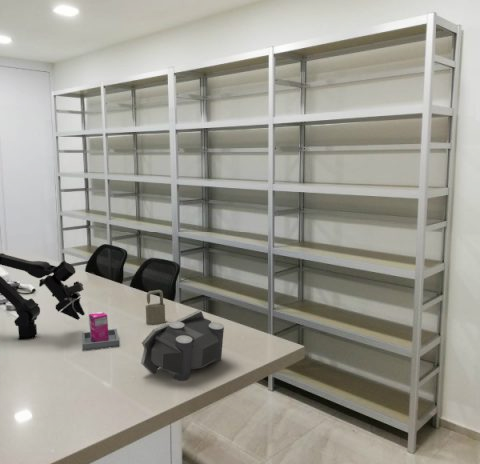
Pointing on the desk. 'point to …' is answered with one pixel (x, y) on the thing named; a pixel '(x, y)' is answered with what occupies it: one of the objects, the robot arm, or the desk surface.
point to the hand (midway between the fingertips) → (81, 316)
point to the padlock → (155, 309)
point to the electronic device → (183, 345)
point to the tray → (112, 342)
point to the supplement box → (98, 327)
